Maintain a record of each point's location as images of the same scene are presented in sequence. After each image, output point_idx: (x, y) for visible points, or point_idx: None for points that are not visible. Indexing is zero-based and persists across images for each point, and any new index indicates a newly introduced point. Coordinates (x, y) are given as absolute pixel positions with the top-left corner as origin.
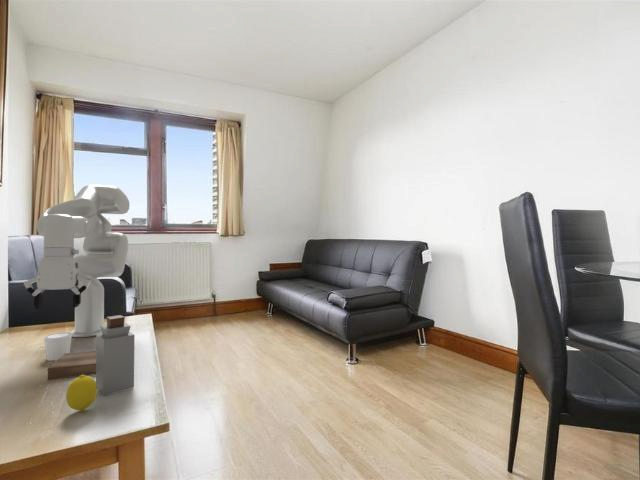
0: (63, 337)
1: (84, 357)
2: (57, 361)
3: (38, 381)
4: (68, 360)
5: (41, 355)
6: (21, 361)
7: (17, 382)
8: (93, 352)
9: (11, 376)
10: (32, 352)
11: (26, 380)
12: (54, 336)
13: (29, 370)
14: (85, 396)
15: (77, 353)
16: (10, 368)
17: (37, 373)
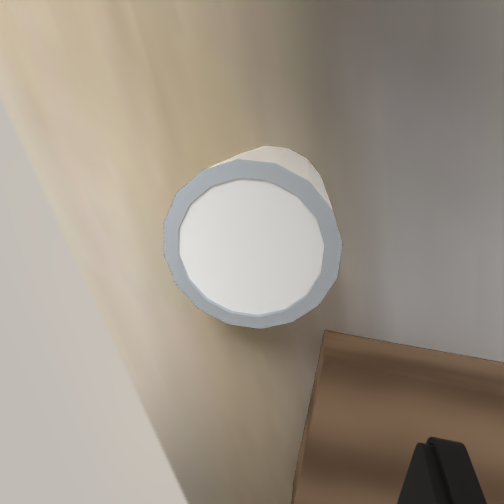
0: (297, 317)
1: None
2: (311, 463)
3: (266, 482)
4: (357, 475)
5: (168, 112)
6: (104, 188)
7: (197, 456)
8: (473, 414)
9: (151, 386)
10: (89, 6)
11: (221, 453)
12: (227, 261)
13: (193, 348)
14: None
15: (389, 390)
16: (102, 281)
17: (238, 400)
